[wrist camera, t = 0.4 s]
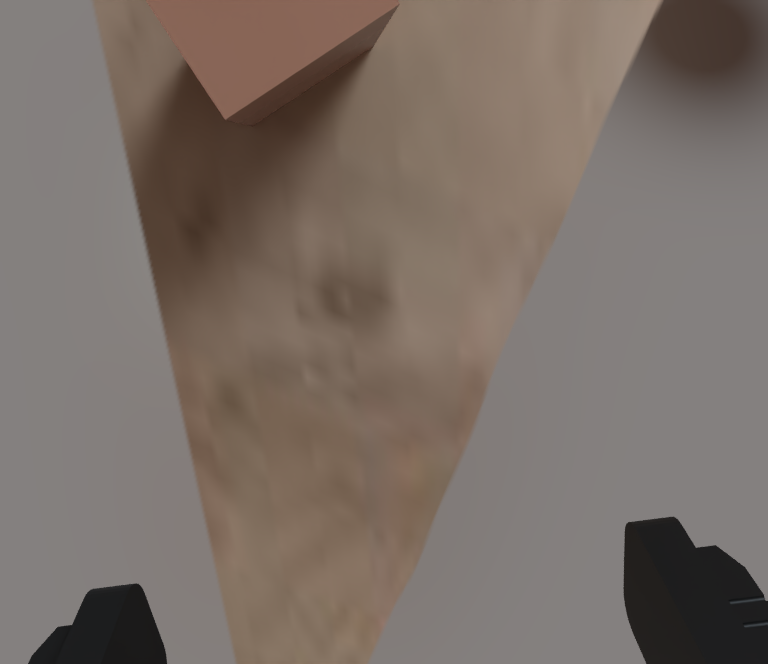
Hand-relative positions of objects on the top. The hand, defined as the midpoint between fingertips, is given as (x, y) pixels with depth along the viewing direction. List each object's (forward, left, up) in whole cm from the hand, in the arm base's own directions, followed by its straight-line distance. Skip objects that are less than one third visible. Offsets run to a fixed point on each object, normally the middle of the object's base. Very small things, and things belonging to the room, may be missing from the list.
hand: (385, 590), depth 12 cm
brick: (-12, +1, -26) cm, 29 cm away
